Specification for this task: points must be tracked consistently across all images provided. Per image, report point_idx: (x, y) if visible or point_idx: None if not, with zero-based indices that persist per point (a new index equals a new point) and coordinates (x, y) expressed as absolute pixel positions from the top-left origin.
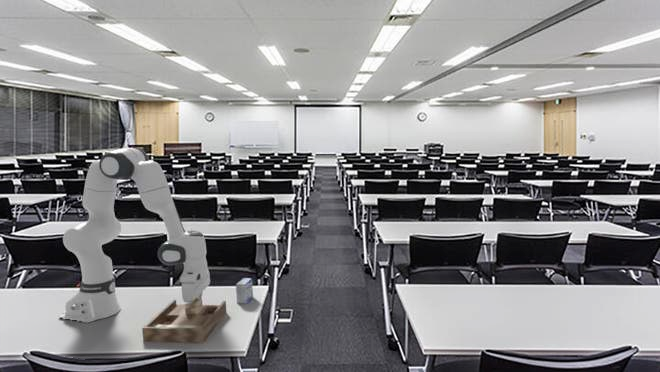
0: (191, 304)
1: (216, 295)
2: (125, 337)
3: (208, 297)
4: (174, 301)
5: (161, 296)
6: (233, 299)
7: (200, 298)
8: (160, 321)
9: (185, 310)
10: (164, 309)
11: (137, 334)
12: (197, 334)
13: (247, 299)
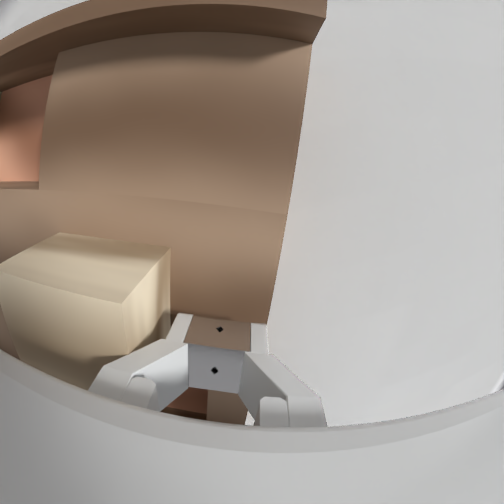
0: (13, 340)
1: (491, 312)
2: (8, 6)
3: (489, 275)
4: (270, 10)
5: (495, 5)
6: (407, 407)
7: (242, 393)
8: (18, 73)
9: (39, 245)
10: (40, 30)
11: (11, 27)
12: None
13: None
